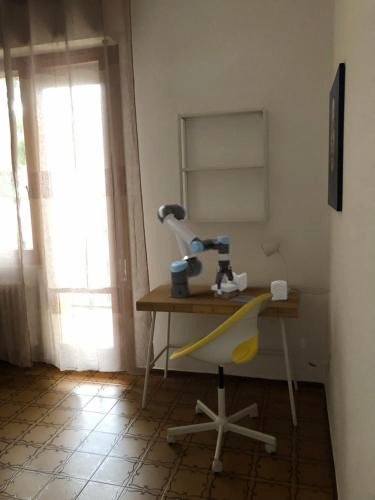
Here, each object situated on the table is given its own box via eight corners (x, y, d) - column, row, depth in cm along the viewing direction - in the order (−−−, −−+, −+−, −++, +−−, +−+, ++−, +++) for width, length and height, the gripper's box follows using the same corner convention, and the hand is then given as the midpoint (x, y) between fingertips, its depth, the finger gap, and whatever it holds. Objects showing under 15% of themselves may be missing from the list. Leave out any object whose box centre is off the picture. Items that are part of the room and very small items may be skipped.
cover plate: (211, 289, 275) (211, 286, 274) (220, 286, 283) (220, 283, 283) (229, 292, 266) (228, 288, 266) (238, 288, 274) (238, 285, 274)
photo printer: (272, 300, 260) (272, 281, 258) (270, 299, 264) (270, 280, 262) (288, 299, 260) (288, 280, 259) (285, 298, 265) (285, 279, 263)
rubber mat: (229, 300, 265) (229, 299, 265) (240, 295, 275) (240, 295, 275) (250, 303, 255) (250, 302, 255) (262, 298, 265) (262, 298, 265)
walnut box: (214, 296, 276) (214, 289, 275) (221, 294, 282) (220, 287, 281) (229, 299, 268) (229, 291, 268) (235, 296, 274) (235, 289, 274)
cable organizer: (240, 292, 285) (240, 276, 283) (226, 291, 289) (225, 275, 288) (247, 288, 298) (246, 272, 297) (233, 287, 303) (233, 271, 301)
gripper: (218, 262, 261) (219, 296, 263) (238, 257, 279) (239, 289, 281) (208, 261, 265) (210, 295, 268) (229, 256, 283) (229, 288, 286)
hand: (224, 292), depth 275 cm, fingers closed on cover plate, 11 cm apart
